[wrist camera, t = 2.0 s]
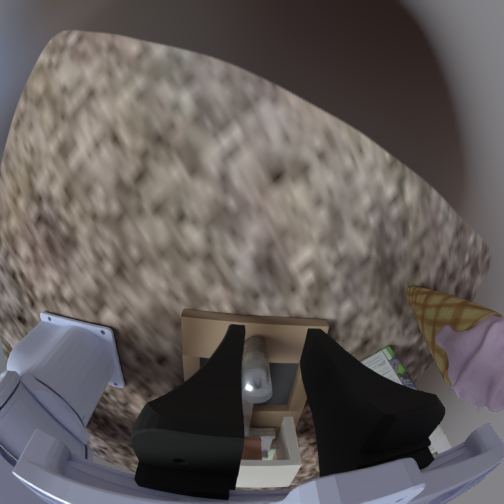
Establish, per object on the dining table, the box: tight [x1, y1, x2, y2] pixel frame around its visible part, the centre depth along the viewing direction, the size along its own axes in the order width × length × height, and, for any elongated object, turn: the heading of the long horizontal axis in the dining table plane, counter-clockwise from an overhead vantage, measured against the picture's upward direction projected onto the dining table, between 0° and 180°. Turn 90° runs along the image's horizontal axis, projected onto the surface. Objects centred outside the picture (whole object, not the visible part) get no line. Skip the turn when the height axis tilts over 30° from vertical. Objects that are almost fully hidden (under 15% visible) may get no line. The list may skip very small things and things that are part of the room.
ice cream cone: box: [406, 286, 504, 412], centre depth 15 cm, size 7×6×15 cm
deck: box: [181, 309, 329, 460], centre depth 25 cm, size 12×27×1 cm, turn 174°
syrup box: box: [361, 347, 452, 456], centre depth 18 cm, size 6×6×14 cm
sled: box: [242, 337, 275, 459], centre depth 21 cm, size 7×18×5 cm, turn 174°
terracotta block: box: [241, 438, 262, 460], centre depth 23 cm, size 4×4×4 cm
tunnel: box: [236, 417, 302, 487], centre depth 22 cm, size 10×6×6 cm, turn 84°
